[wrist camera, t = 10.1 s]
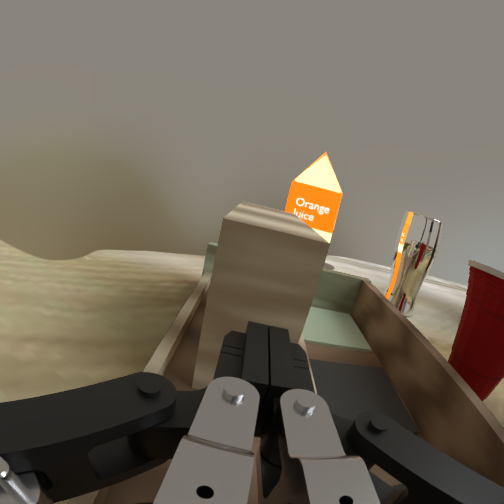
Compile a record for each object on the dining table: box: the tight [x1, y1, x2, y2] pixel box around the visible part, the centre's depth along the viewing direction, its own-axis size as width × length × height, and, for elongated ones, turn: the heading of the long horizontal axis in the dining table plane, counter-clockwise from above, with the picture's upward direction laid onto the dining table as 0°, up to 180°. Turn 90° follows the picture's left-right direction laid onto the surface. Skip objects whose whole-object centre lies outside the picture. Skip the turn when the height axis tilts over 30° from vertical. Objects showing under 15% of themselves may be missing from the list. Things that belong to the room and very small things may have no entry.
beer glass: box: [383, 211, 443, 316], centre depth 38 cm, size 7×7×15 cm
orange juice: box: [285, 152, 343, 243], centre depth 45 cm, size 8×9×20 cm
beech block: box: [192, 202, 330, 390], centre depth 21 cm, size 14×5×10 cm, turn 178°
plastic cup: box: [448, 260, 504, 401], centre depth 18 cm, size 11×11×12 cm
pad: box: [302, 307, 372, 352], centre depth 27 cm, size 8×7×1 cm
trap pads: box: [309, 359, 419, 490], centre depth 11 cm, size 20×7×1 cm, turn 178°
